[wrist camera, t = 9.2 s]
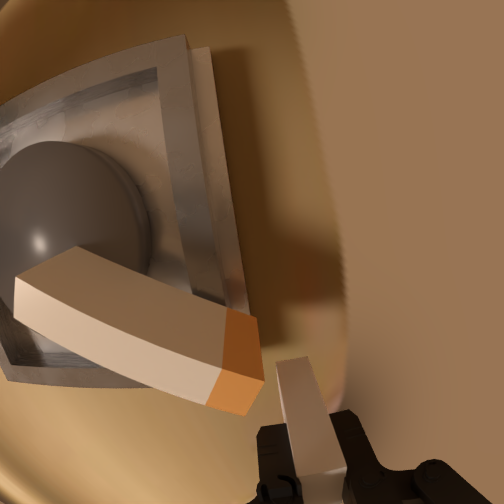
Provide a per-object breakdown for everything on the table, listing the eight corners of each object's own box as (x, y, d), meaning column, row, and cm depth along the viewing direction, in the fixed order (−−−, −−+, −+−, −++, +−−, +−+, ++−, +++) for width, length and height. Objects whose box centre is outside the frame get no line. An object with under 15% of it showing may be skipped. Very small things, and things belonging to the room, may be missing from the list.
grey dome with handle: (-2, 283, 16) (-70, 323, 9) (27, 126, 14) (-58, 115, 6) (215, 384, 18) (207, 476, 11) (288, 220, 16) (327, 256, 9)
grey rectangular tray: (18, 361, 18) (0, 379, 16) (-33, 147, 14) (-58, 146, 11) (256, 350, 19) (259, 378, 16) (210, 53, 14) (205, 30, 11)
